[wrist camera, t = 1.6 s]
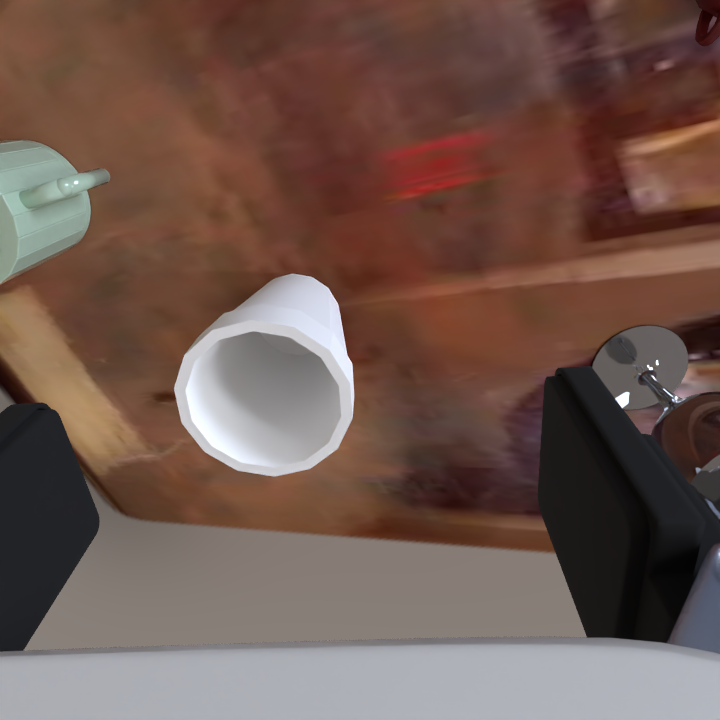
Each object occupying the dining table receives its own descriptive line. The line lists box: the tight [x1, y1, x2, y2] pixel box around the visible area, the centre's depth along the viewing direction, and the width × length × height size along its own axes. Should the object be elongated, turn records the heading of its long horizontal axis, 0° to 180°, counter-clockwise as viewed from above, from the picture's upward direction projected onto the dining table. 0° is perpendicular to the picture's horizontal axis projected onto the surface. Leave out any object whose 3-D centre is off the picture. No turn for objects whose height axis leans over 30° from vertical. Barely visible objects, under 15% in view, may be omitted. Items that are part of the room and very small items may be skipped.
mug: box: [0, 139, 110, 284], centre depth 34 cm, size 10×8×8 cm
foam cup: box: [174, 273, 354, 476], centre depth 35 cm, size 10×9×13 cm
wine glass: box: [592, 325, 720, 523], centre depth 35 cm, size 8×8×15 cm
